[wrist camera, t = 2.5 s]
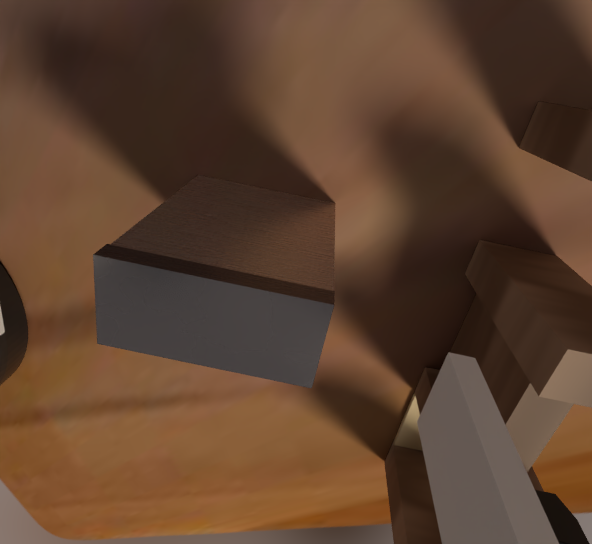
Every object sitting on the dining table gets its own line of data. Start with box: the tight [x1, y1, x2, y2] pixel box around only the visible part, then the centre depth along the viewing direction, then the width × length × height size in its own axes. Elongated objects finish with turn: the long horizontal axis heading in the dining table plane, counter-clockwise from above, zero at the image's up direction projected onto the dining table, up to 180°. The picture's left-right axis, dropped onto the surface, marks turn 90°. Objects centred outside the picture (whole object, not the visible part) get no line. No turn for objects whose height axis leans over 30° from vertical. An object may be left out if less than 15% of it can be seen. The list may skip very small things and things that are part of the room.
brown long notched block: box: [385, 101, 592, 544], centre depth 19 cm, size 4×24×9 cm, turn 169°
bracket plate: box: [93, 175, 335, 388], centre depth 17 cm, size 7×3×10 cm, turn 79°
